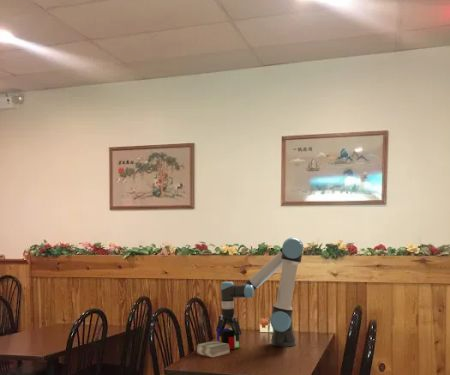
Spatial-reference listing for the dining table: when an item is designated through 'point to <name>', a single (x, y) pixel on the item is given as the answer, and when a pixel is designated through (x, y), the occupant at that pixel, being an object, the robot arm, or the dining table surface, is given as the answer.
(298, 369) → the dining table surface
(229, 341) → the puzzle toy
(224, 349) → the plinth
